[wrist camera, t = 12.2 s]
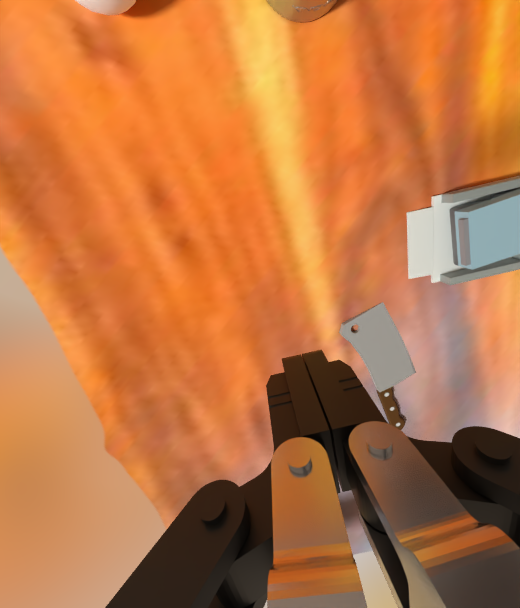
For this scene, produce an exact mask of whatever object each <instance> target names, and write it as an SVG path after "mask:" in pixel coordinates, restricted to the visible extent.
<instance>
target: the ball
mask: <svg viewBox="0 0 520 608" xmlns="http://www.w3.org/2000/svg"><path fill="white" fill-rule="evenodd" d="M76 1H77V2H78V3H79V4H80V5H82V6H84V7H86V8H87V9H89V10H91V11H93V12H97V13H100V14H104V15H119V14H121V13H123V12H126V11H127V10H129V9H130V8H131V7H132V6H133V5H134V4H135V2H136V0H76Z"/></svg>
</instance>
